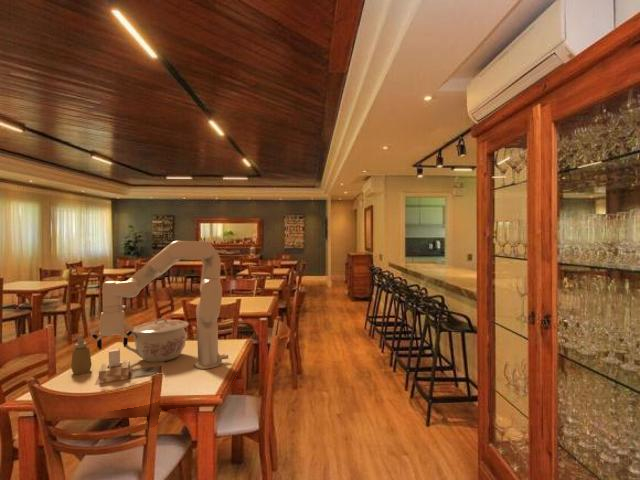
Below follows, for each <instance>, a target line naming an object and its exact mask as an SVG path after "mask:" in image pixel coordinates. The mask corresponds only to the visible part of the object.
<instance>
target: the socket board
mask: <svg viewBox="0 0 640 480" xmlns="http://www.w3.org/2000/svg"><path fill="white" fill-rule="evenodd" d="M130 365H131V361H130V360H129V359H128V360H122V361H121V360H120V367H115V368H109V362H105V363H102V364H101V365H100V368H99V369H98V370H99V371H98V377H97V379H96V381H95V383H94V386H97V385H104V384H110V383H116V382H117V383H118V382H123V381H128V380H136V379H141V378H148V377H153V376H152V375H154V374H157V373H162V369H163V368H162V365H155V366H150V367H148V366H147V367H144V368H141V367H140V368H136V369H135V368H134V369H131V367H130ZM162 374H163V373H162Z"/></svg>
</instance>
